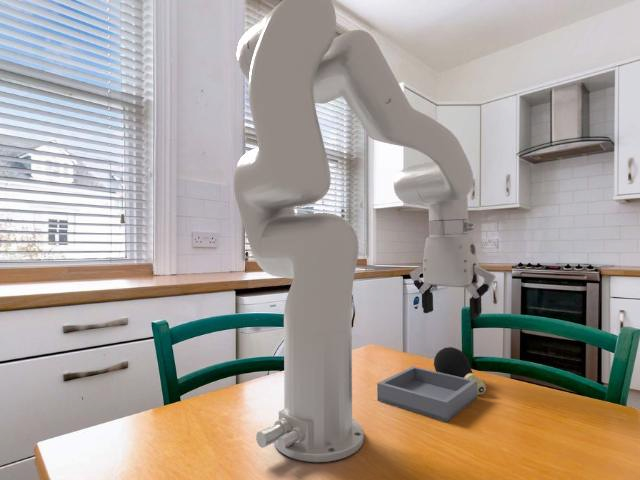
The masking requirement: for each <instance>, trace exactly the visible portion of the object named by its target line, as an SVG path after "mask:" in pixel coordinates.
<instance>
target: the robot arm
mask: <svg viewBox="0 0 640 480" xmlns="http://www.w3.org/2000/svg"><path fill="white" fill-rule="evenodd" d="M336 30H337V15H336V9H335V7H334V3H333V1H332V0H282V1H280V3H278V4H277V5H276V6H274V7H273V8H272V9H271V10H270V11H269V12H268V13H267V14H266V15H265V16H264V17H262V18H261V19H260V20H259V21H257V23H255V24H254V25H252V27H251V28H249V29H248V30H247V31H246V32H245V33H244V34H243V35H242V37H241V39H240V40H239V42H238V46H237V50H236V57H237V61H238V65H239V68H240V70H241V72H242V73H243V75H244V76H245V77H246V78H247V80H248V102H249V109H250V113H251V117H252V122H253V127H254V131H255V136H256V140H257V142H256V143H257V147H256V148H254V149H251V150H249V151H248V152H247V153H245V154H244V155H242V156H241V158H240V159H239V160H238V162H237V164H236V166H235V169H234V175H233V190H234V195H235V201H236V204H237V207H238V210H239V214H240V218H241V221H242V224H243V228H244V231H245V235H246V238H247V241H248V244H249V248H250V251H251V254H252V256H253V259H254V260H255V262H256V264H257V265H258V267H259V268H260V269H261V270H262V271H263V272H264V273H267V275H270V276H273V277H277V278H284V279H292V283H291V284H290V285H291V286H290V288H289V290H288V293H287V296H286V299H285V303H284V310H283V312H284V313H283V332H284V333H283V334H284V335H283V339H284V340H283V346H284V347H283V348H284V349H283V353H284V355H283V357H284V358H283V361H284V363H283V365H284V366H283V368H284V370H283V375H284V376H283V377H284V379H283V381H284V383H283V384H284V389H283V391H284V394H283V395H284V396H283V397H284V403H283V405H284V409H282V410H278V420H276V421H275V422H274V424H273V425H272V426H268V427H267V428H263V429H262V430H259V431H258V432H257V433H256V435H255V436H256V443H257V445H258V446H259V447H260V448H262V449H263V448H264V449H265V448H267V446H270V445H271V444H274V446H275V448H276V449H277V450H278V451H279V452H280V453H281V454H283V455H285V456H286V457H289V458H291V459H293V460H297V461H303V462H307V463H308V462H309V463H326V462H333V461H338V460H342V459H345V458H347V457H349V456H352V455H353V454H355V453H356V452H358V451H359V449H361V447H362V445H363V443H364V438H365V436H364V429H363V426H362V425H361V424H360V423H359V422H358V421H357V420H355V419H354V418H353V352H352V351H353V349H352V348H353V347H352V346H353V338H352V337H353V334H352V329H353V328H352V310H353V309H352V308H353V307H352V306H353V305H352V303H353V302H352V301H353V299H352V297H353V287H354V281H355V280H354V279H355V273H356V268H357V263H358V258H359V239H358V234H357V233H356V230H355V228H354V227H353V226H352V224H351V223H350V222H349V221H348V220H347V219H345V218H344V217H342V216H340V215H338V214H334V213H330V212H328V213H327V212H314V213H303V214H296V212H295V207H302V206H306V205H312V204H313V203H314V204H315V203H316V202H319V201H320V200H322V199H323V198H324V197H325V196H326V195H327V194H328V192H329V191H330V187H331V169H330V165H329V161H328V156H327V152H326V151H327V150H326V147H325V143H324V139H323V134H322V131H321V127H320V123H319V119H318V114H317V108H316V104H318V105H319V104H320V105H321V104H322V105H323V104H326V103H330V102H332V101H335V100H337V99H340V98H341V97H342V98H343V99H344V100H345V102H346V104H347V105H348V106H349V108H350V110H351V111H352V112H353V114H354V116H355V117H356V119H357V120H358V122H359V124H360V125H361V127H362V129H363V130H364V132H365V133H366V135H367V136H368V138H370V139H371V140H374V141H377V142H381V143H385V144H388V145H389V144H390V145H393V146H394V145H395V146H399V147H403V148H408V149H412V150H415V151H417V152H419V153H422V154H423V155H425V156H426V157H428V158H429V159H430V160H432V161H429V162H424V163H419V164H416V165H411V166H407V167H405V168H403V169H401V170H400V171H399V172H398V173H397V174H396V176H395V177H394V181H393V190H394V193H395V195H396V197H397V198H398V199H399V200H400V201H401V202H403V203H404V204H408V205H414V206H415V205H426V204H427V205H428V233H429V235H428V237H426V239H425V242H424V243H425V244H424V249H423V259H422V262H423V263H422V265H420V266H419V267H417V268H415V269H413V270H411V271H410V272H409V276H410V278H411V281H412V282H413V286H415V287H416V288H417V290H418V292H419V294H421V308H422V309H423V311H422V312H423V314H428V313H432V312H433V311H434V294H433V293H434V292H431V291H432V289H433V288H434V287H436V286H437V287H447V288H448V287H449V288H451V287H452V288H465V290H467V292H468V293H469V294H470V295H471V297H470V298H469V318H470V319H471V320H475V319H477V318H479V317H480V315H481V314H482V311H483V310H482V308H483V307H482V297H483V296H484V295H485V294H486V293H487V292H488V291H489V290H490V289H491V288H492V285H493V283H494V282H495V279H496V275H495V274H494V273H492V272H490V271H488V270H487V269H484V268H483V267H481V266H479V262H478V254H477V248H476V242H475V239H474V236H471V235H469V234H470V232H471V231H475V230H476V223H474V222H473V223H471V222H470V220H469V206H468V204H469V203H468V201H469V200H468V195H469V194H470V193H471V191H472V188H473V185H474V175H473V174H474V173H473V171H472V166H471V164H470V162H469V159H468V157H467V154H466V153H465V151H464V148H463V147H462V144H461V142H460V141H459V139H458V137H456V135H455V134H454V133H453V132H452V131H451V130H449V128H447V127H446V126H444V125H443V124H441V122H439V121H437V120H436V119H434V118H433V117H430V116H428V115H427V114H425V113H422V112H420V111H419V110H416V109H415V108H414V107H413V106H412V105H411V103H410V102H409V101H408V98H407V97H406V93H404V91H403V90H402V88H401V86H400V84H399V82H398V80H397V78H396V76H395V74H394V73H393V70H392V69H391V67H390V65H389V63H388V61H387V60H386V58H385V55H384V54H383V52H382V51H381V49H380V47H379V44H378V42H377V41H376V40H375V38H374V37H373V35H371V34H370V33H369V32H368V31H365V30H363V29H352V30H349V31H346V32H344V33H342V34H340V35H338V36H336V33H337V32H336ZM335 36H336V37H335ZM421 274H422V275H423V276H422V277H423V280H422V279H421V277H420V275H421ZM480 277H482V278H483V280H484V281H483V283H482V284H481V286H479V285H478V284H479V282H480V281H479V280H480Z"/></svg>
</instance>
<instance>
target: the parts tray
mask: <svg viewBox="0 0 640 480" xmlns="http://www.w3.org/2000/svg"><path fill="white" fill-rule="evenodd" d="M376 385H377V386H376V387H377V389H376V390H377V395H376V397H377V401H379V402H381V403H383V404H387V405H391V406H394V407H398V408H400V409H403V410H406V411H409V412H414V413H416V414H418V415H419V414H420V415H422V416H425V417H428V418H431V419H435V420H438V421H441V422H445V423H448V422H449V421H450V420H452V419H453V418H454V417H456V416H457V415H458V414H459V413H460V412H462V411H463V410H464V409H465V408H467V407H468V406H469V405H470V404H472V403H473V402H475V400H477V398H478V395H477V381H475V380H471V379H466V378H462V377H458V376H453V375H449V374H445V373H440V372H436V370H432V369H431V370H430V369H427V368H422V367H418V366H415V365H413V366H411V367H409V368H407V369H404V370H401V371H400V372H398V373H396V374H394V375H392V376H390V377H387V378H385V379H384V380H381V381H378V382H377V384H376Z"/></svg>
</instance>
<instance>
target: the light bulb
mask: <svg viewBox="0 0 640 480" xmlns="http://www.w3.org/2000/svg"><path fill="white" fill-rule="evenodd" d="M433 367H434V371H436V372H440V373H445V374H449V375H453V376H458V377H462V378H466V379H471V380H475V381H477V396H481V395H483V394H484V393H485V392H486V385H485V382H484V381H482V380H481V379H480V378H479V377H478V376H477V375H475V373H473V369H472V366H471V364H470V362H469V359H468V357H467V355H466V354H465V353H464V352H463V351H462V350H461V349H458V348H455V347H453V346H449V347H444V348H442V349H440V350H438V352H437V353H436V355H435V356H434V360H433Z"/></svg>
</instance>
